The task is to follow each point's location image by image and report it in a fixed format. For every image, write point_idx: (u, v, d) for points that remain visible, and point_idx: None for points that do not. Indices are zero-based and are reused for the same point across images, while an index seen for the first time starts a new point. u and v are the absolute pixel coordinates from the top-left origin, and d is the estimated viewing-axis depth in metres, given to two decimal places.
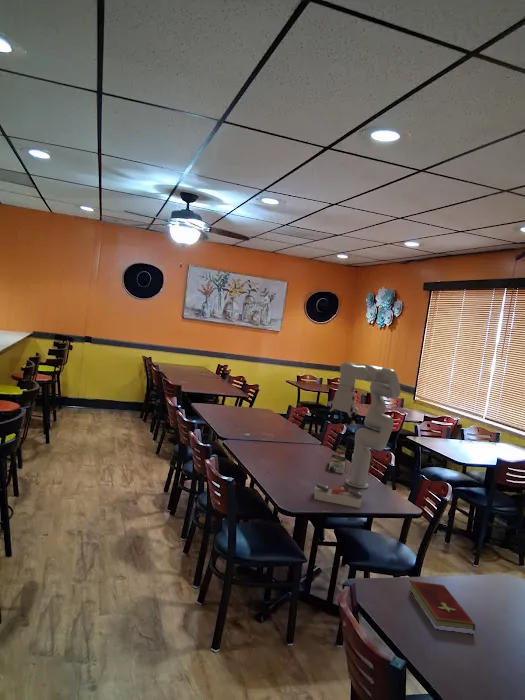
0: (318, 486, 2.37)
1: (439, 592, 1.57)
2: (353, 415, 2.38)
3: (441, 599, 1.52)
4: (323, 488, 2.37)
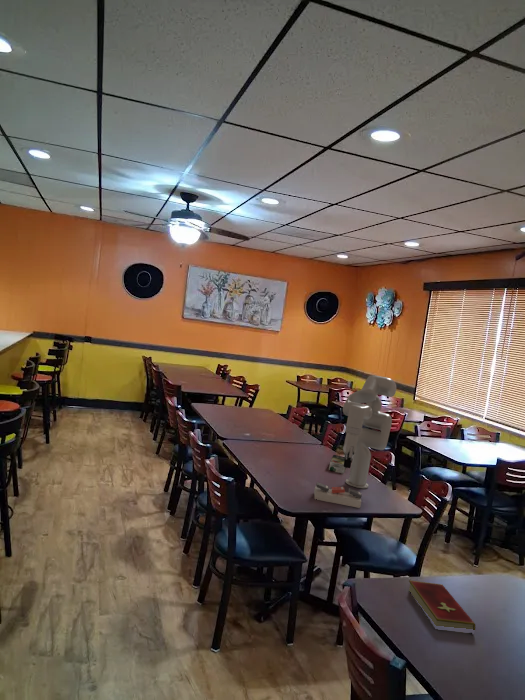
0: (318, 486, 2.37)
1: (439, 592, 1.57)
2: None
3: (441, 599, 1.52)
4: (323, 488, 2.37)
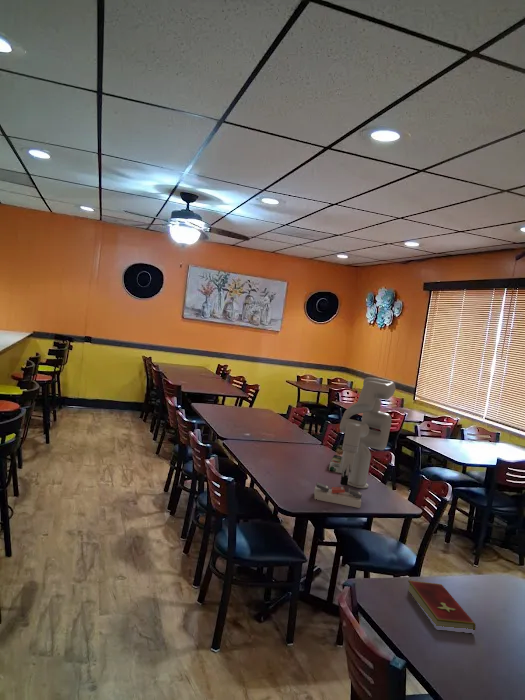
0: (318, 486, 2.37)
1: (438, 591, 1.57)
2: None
3: (440, 598, 1.52)
4: (323, 488, 2.37)
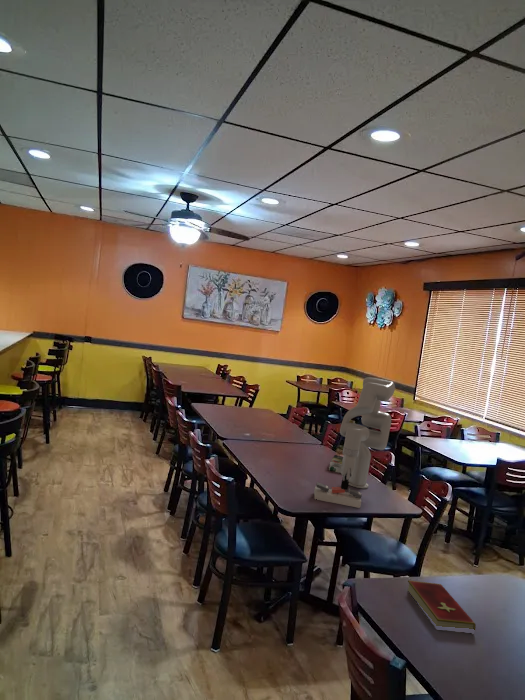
0: (318, 486, 2.37)
1: (438, 591, 1.57)
2: None
3: (440, 598, 1.52)
4: (323, 488, 2.37)
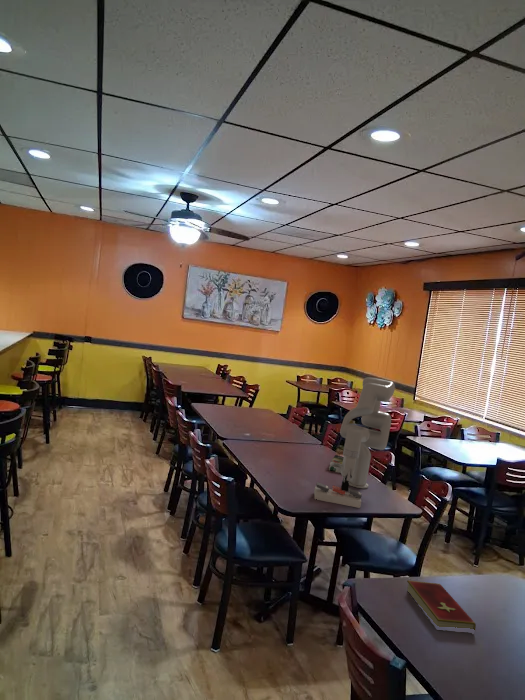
0: (318, 486, 2.37)
1: (437, 591, 1.57)
2: None
3: (440, 598, 1.52)
4: (323, 488, 2.37)
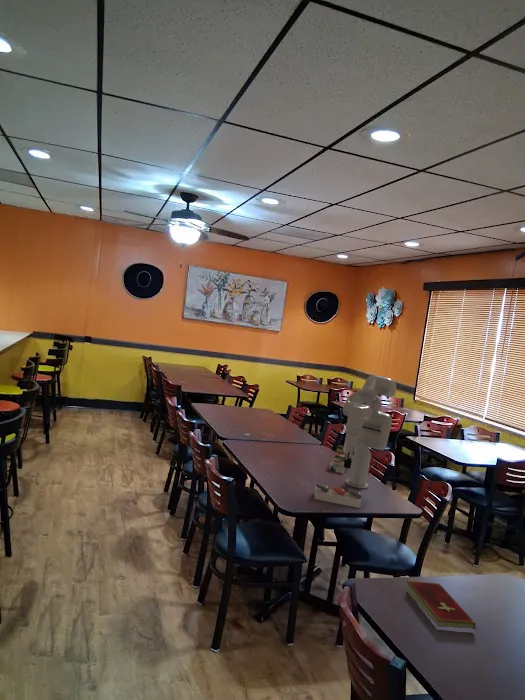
0: (318, 486, 2.37)
1: (437, 591, 1.57)
2: None
3: (439, 598, 1.52)
4: (323, 488, 2.37)
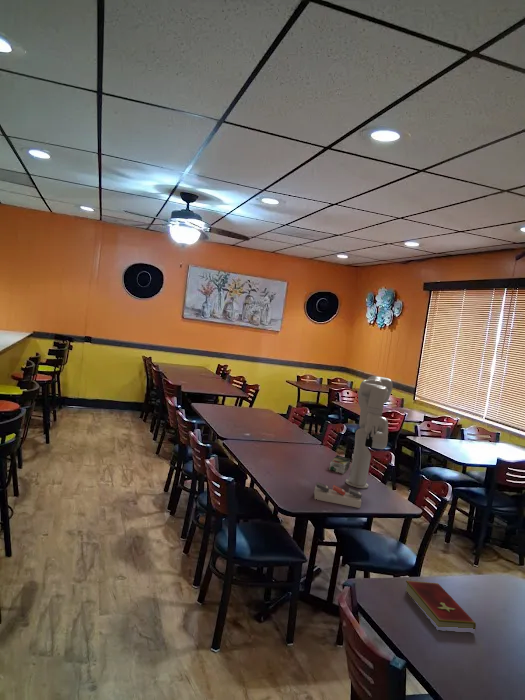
0: (318, 486, 2.37)
1: (436, 591, 1.57)
2: None
3: (439, 598, 1.53)
4: (323, 488, 2.37)
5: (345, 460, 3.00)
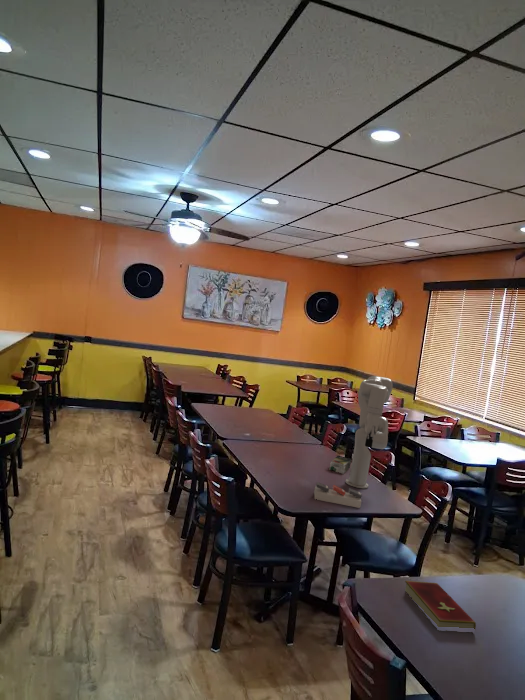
0: (318, 486, 2.37)
1: (435, 591, 1.57)
2: None
3: (439, 598, 1.53)
4: (323, 488, 2.37)
5: (345, 460, 2.99)
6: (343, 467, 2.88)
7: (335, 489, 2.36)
